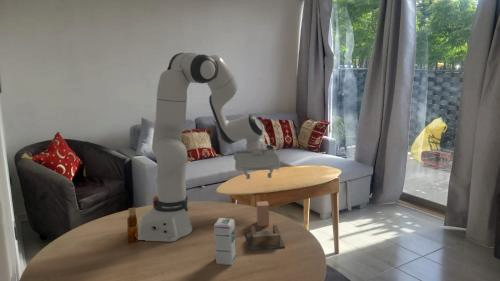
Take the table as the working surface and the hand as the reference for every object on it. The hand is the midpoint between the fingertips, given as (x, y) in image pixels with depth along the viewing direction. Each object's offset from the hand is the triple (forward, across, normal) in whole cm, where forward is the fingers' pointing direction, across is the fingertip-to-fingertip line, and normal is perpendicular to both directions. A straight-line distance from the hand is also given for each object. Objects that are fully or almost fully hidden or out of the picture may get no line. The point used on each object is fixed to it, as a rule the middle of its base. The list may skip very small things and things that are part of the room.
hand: (259, 178), depth 169 cm
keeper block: (+20, 0, +3) cm, 20 cm away
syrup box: (+39, -16, -16) cm, 45 cm away
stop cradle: (+30, -1, -8) cm, 31 cm away
